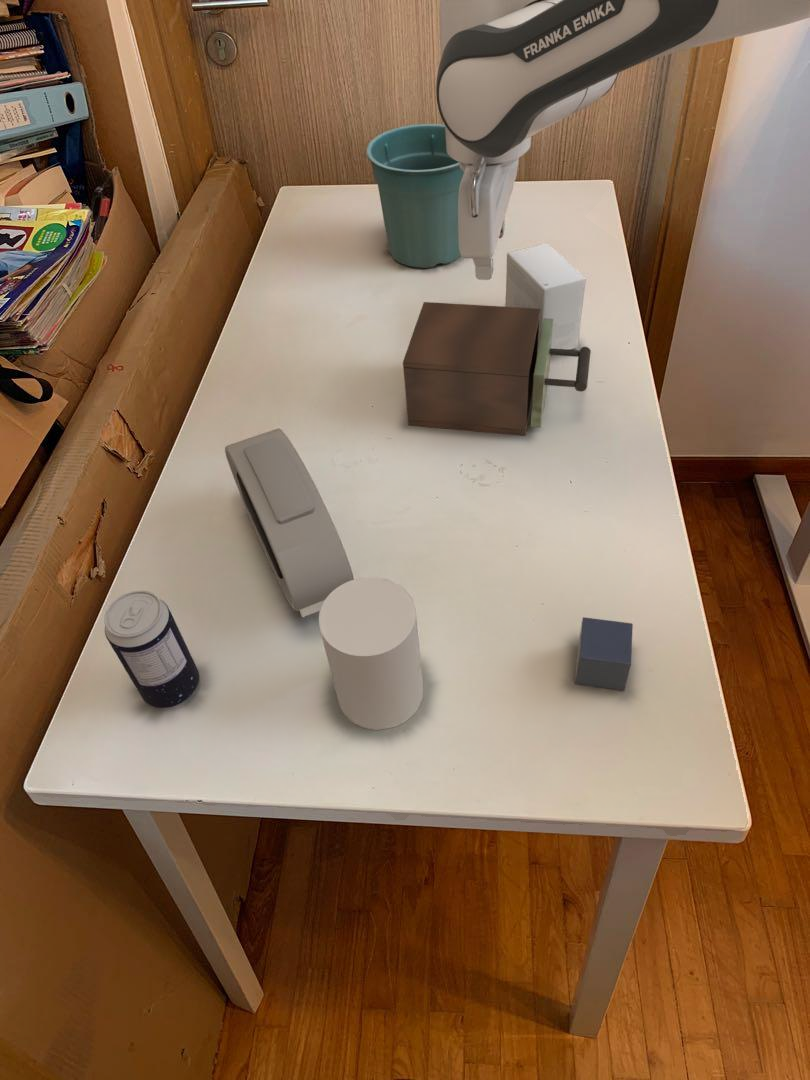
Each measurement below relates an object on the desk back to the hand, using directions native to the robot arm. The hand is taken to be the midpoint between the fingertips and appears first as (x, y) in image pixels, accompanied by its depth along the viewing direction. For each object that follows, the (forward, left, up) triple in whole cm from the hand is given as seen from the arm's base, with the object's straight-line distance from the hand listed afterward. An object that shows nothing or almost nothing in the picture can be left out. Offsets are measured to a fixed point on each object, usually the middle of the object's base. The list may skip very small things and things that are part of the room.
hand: (490, 255), depth 95 cm
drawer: (-3, +5, -16) cm, 17 cm away
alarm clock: (+16, +34, -17) cm, 41 cm away
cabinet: (+1, +5, -17) cm, 18 cm away
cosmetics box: (-6, -10, -17) cm, 21 cm away
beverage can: (+23, +52, -17) cm, 59 cm away
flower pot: (+14, -31, -17) cm, 38 cm away
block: (-17, +43, -17) cm, 49 cm away
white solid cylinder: (+3, +49, -17) cm, 52 cm away
